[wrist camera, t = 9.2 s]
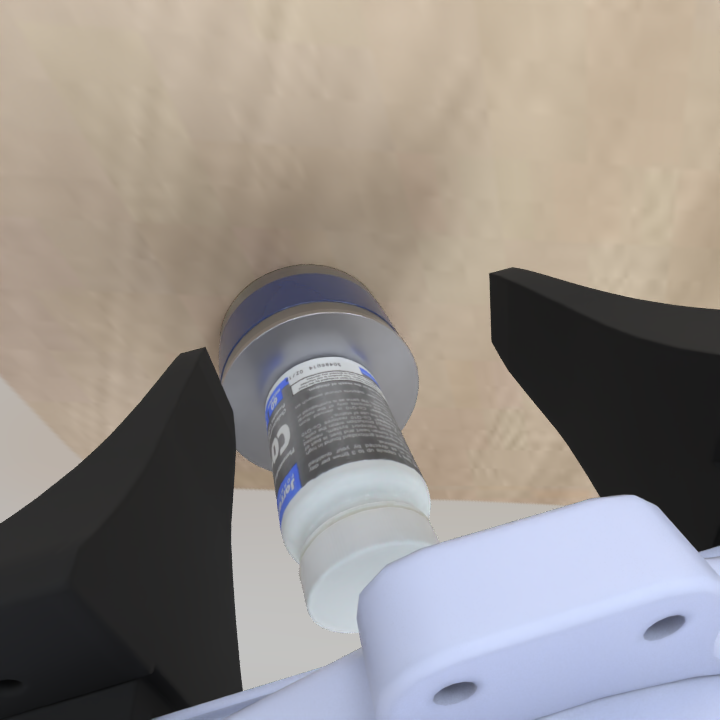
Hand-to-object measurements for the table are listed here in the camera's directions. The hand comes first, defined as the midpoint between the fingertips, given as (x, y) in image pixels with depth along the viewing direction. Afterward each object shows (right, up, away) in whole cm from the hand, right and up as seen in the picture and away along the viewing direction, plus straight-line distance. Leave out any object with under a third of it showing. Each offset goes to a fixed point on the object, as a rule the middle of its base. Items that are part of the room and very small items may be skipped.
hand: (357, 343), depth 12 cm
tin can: (-3, +1, +12) cm, 12 cm away
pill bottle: (-1, -2, +8) cm, 8 cm away
